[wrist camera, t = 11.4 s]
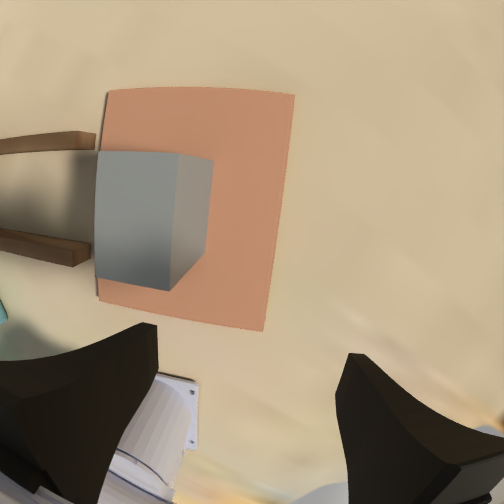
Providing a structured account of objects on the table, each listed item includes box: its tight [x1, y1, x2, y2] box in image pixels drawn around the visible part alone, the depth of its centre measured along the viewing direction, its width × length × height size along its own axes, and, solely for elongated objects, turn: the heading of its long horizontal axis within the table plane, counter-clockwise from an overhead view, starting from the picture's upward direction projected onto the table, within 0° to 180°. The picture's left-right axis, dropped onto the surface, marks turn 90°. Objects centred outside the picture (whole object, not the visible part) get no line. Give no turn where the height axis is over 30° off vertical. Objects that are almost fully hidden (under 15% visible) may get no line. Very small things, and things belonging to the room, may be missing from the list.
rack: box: [0, 131, 96, 267], centre depth 19 cm, size 10×16×4 cm, turn 83°
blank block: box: [94, 151, 214, 292], centre depth 16 cm, size 6×4×7 cm, turn 173°
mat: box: [97, 87, 295, 332], centre depth 20 cm, size 16×13×1 cm
